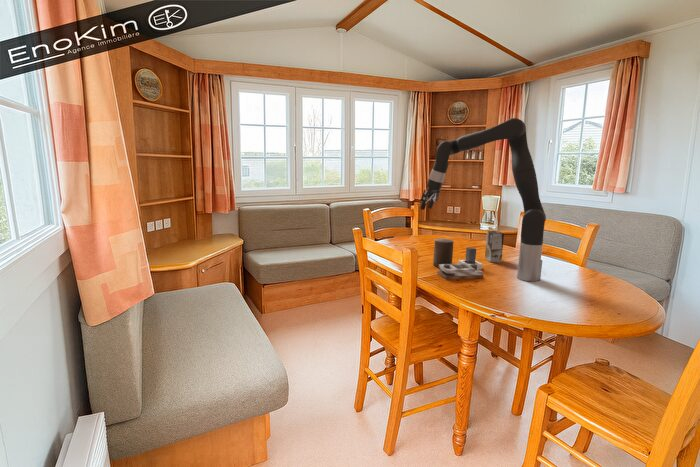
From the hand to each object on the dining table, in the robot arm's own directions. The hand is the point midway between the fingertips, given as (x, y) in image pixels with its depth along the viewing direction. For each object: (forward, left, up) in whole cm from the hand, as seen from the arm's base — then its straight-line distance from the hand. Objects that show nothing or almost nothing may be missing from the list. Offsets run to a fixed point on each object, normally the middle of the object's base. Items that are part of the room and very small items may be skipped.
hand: (426, 208), depth 197 cm
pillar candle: (-8, +8, -29) cm, 31 cm away
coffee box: (-40, +3, -29) cm, 50 cm away
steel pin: (-21, +13, -29) cm, 38 cm away
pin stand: (-21, +13, -29) cm, 38 cm away
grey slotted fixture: (-9, +26, -29) cm, 40 cm away
